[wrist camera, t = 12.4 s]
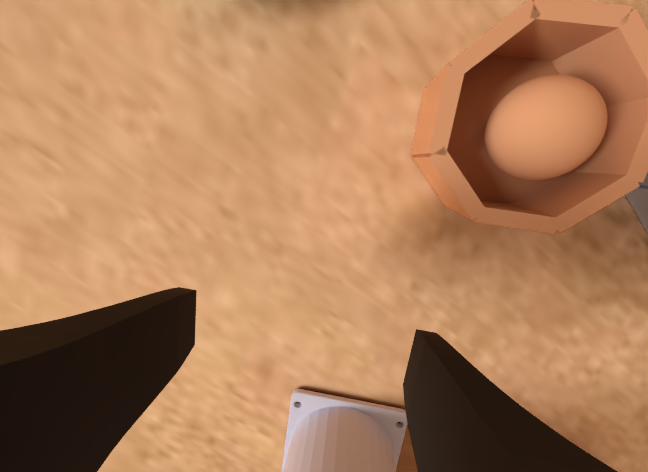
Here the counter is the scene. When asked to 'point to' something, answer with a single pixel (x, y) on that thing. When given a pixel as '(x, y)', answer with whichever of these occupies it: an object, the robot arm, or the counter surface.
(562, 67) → the terracotta octagonal bowl
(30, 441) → the robot arm
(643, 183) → the slate cup
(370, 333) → the counter surface
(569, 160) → the terracotta ball
